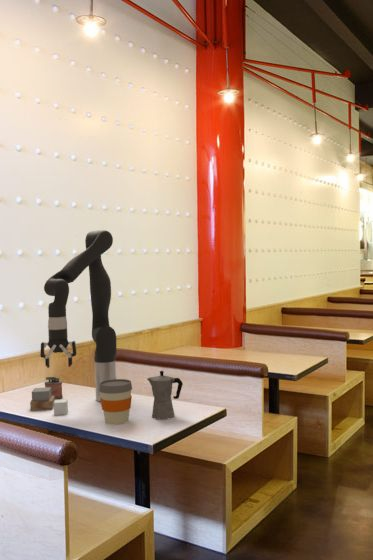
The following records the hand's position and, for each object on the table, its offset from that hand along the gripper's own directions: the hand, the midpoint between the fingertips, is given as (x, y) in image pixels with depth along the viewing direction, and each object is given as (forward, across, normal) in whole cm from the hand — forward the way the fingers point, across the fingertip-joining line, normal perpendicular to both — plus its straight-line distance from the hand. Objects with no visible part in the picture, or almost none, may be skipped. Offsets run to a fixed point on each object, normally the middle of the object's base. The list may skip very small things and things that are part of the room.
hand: (59, 367), depth 230 cm
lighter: (+19, +6, -26) cm, 33 cm away
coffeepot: (+19, -42, +15) cm, 49 cm away
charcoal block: (+15, +9, -11) cm, 21 cm away
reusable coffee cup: (+19, -23, +17) cm, 34 cm away
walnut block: (+19, +9, -11) cm, 24 cm away
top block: (+19, 0, 0) cm, 19 cm away
